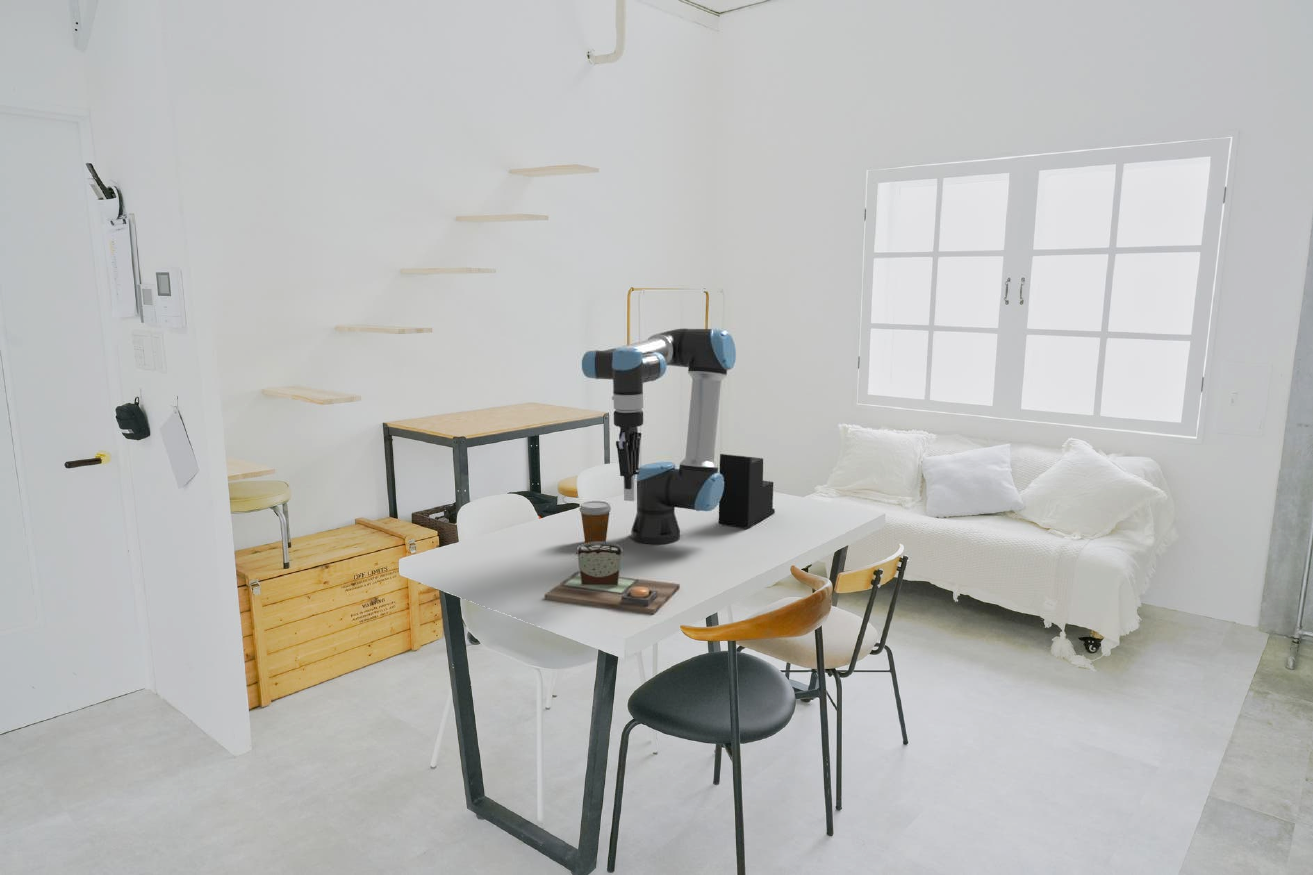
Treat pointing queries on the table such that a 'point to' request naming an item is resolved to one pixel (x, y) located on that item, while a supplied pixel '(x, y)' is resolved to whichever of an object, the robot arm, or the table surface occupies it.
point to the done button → (640, 592)
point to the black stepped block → (744, 491)
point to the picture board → (614, 594)
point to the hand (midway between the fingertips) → (630, 499)
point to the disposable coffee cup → (595, 520)
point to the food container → (599, 563)
